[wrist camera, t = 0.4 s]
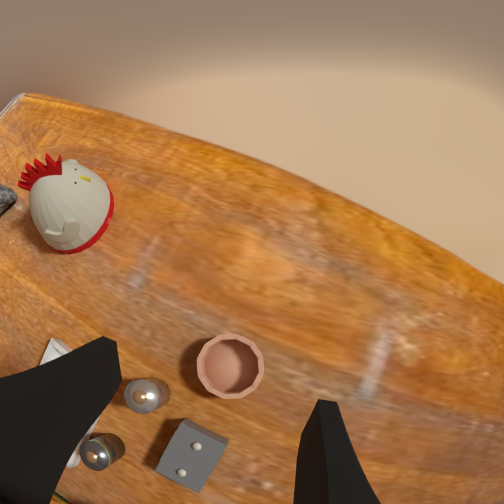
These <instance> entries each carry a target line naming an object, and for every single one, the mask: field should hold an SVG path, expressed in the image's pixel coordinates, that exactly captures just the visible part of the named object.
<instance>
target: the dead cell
mask: <svg viewBox="0 0 504 504" xmlns="http://www.w3.org/2000/svg"><path fill="white" fill-rule="evenodd" d="M170 395H171V393H170V389H169V386H168V385H167V384H166V382H164V381H163V380H161V379H159V378H148V379H140V380H134V381H131V382H130V383H129V384H128V385H127V386H126V388H125V391H124V399H125V402H126V404H127V405H128V407H129V408H130V409H131V410H133V411H134V412H136V413H139V414H146V413H149V412H151V411H153V410H156V409H158V408H160V407H162V406H164V405H166V404H167V403H168V401H169V399H170Z"/></svg>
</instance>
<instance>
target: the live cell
mask: <svg viewBox="0 0 504 504" xmlns="http://www.w3.org/2000/svg"><path fill="white" fill-rule="evenodd" d="M79 454H80V457H81V460H82V461H83V463H84V464H85V465H86V466H87V467H89V468H90V469H92V470H95V471H101V470H103V469H105V468H107V467H108V466H110V465H111V464H113V463H114V462H116V461H117V460H119V459H120V458H122V457H123V456H124V454H125V445H124V443H123V441H122V440H121V439H120V438H119V437H118V436H116V435H114V434H111V433H107V434H104V435H102V436H99V437H97V438H94V439H92V440H89V441H86V442H84V443H83V444H82V445H81V446H80V449H79Z"/></svg>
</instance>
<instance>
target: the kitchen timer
mask: <svg viewBox="0 0 504 504" xmlns="http://www.w3.org/2000/svg"><path fill="white" fill-rule="evenodd" d="M45 160H46V164H47V166H46V165H44V164H42V163H41V162H40V161H39V160H37V159H35V158H34V165H35V167H36V169H35V168H34V167H33V166H31V165H30V164H28V163H26V167H25V169H26V171H27V172H28V173H25V172H21V178H22V179H23V180H25V181H26V182H23V181H18V186H19V187H20V188H22V189H25V190H28V191H29V207H30V212H31V216H32V219H33V222H34V224H35V226H36V228H37V229H38V231H39V233H40V234H41V236H42V237H43V239H44V240H45V241H46V243H47V244H48V245H50V246H51V247H52V248H54V249H55V250H57V251H59V252H60V253H65V254H74V253H78V252H81V251H83V250H85V249H87V248H89V247H91V246H92V245H93V244H94V243H95V242H96V241H97V240H98V239H100V237H101V236H102V234H103V233H104V232H105V230H106V229H107V227H108V225H109V223H110V220H111V218H112V214H113V208H114V201H113V195H112V193H111V191H110V189H109V187H108V185H107V184H106V183H105V182H104V180H102V179H101V178H100V177H99V176H98V175H97V174H96V173H94V172H93V171H91V170H89V169H88V168H86V167H84V166H82V165H79V164H78V162H77V161H76V160H73V159H69V160H66V161H65V162H62V158H61V155H59V159H58V161H57V162H54V160H53V159H52V158H51V157H50V156H49V155H48V154H47V153H46V158H45Z"/></svg>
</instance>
